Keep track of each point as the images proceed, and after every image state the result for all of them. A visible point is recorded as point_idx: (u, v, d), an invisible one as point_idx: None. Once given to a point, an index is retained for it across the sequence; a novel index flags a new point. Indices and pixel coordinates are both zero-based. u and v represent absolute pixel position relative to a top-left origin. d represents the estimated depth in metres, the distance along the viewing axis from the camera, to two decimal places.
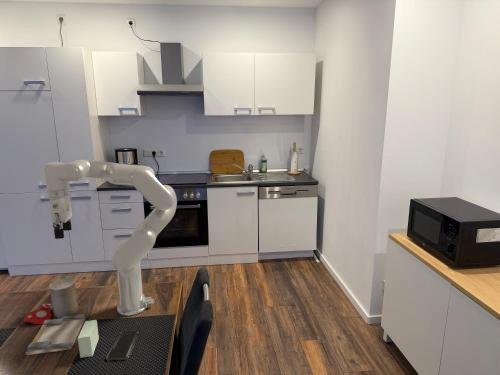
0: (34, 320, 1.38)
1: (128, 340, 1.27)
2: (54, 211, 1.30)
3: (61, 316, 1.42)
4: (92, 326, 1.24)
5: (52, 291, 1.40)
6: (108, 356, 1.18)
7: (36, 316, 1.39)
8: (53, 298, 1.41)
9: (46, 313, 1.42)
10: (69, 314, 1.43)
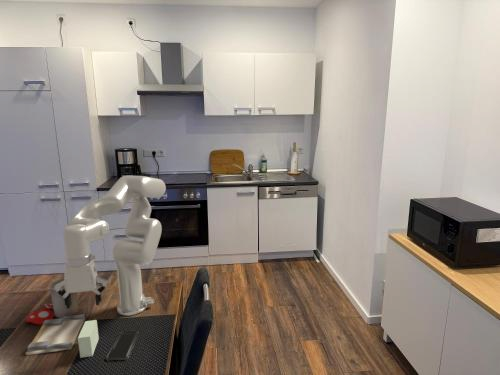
0: (36, 320, 1.37)
1: (128, 340, 1.27)
2: (95, 275, 1.18)
3: (61, 316, 1.42)
4: (92, 326, 1.24)
5: (52, 291, 1.40)
6: (108, 356, 1.18)
7: (38, 316, 1.39)
8: (53, 298, 1.41)
9: (48, 313, 1.42)
10: (69, 314, 1.43)
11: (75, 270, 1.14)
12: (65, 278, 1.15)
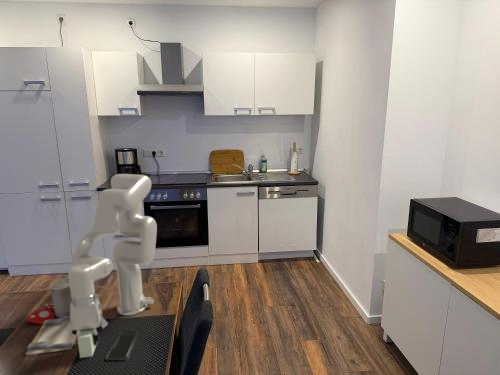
0: (37, 320, 1.38)
1: (128, 340, 1.27)
2: (100, 312, 1.22)
3: (62, 316, 1.42)
4: None
5: (53, 291, 1.40)
6: (108, 356, 1.19)
7: (39, 316, 1.39)
8: (54, 298, 1.41)
9: (49, 313, 1.42)
10: None
11: (80, 309, 1.18)
12: (71, 317, 1.18)
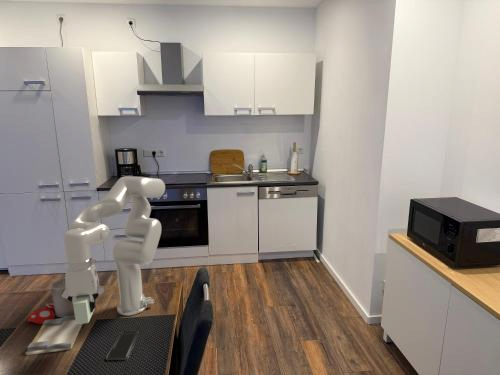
0: (37, 320, 1.38)
1: (128, 340, 1.27)
2: (96, 279, 1.19)
3: (62, 316, 1.42)
4: None
5: (53, 291, 1.40)
6: (108, 356, 1.19)
7: (39, 316, 1.39)
8: (54, 298, 1.41)
9: (49, 313, 1.42)
10: (70, 314, 1.43)
11: (76, 274, 1.15)
12: (66, 282, 1.15)
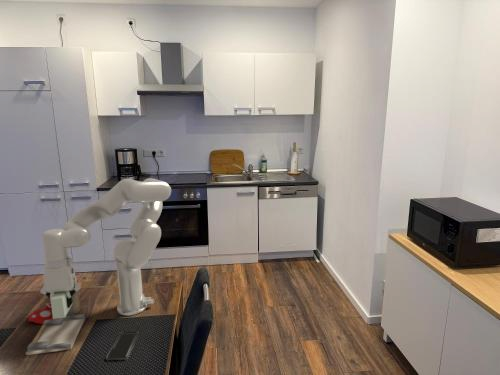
0: (38, 320, 1.38)
1: (128, 340, 1.27)
2: (73, 276, 1.27)
3: None
4: None
5: None
6: (108, 356, 1.19)
7: (40, 316, 1.39)
8: None
9: (50, 313, 1.42)
10: (71, 314, 1.43)
11: (53, 271, 1.23)
12: (44, 279, 1.23)
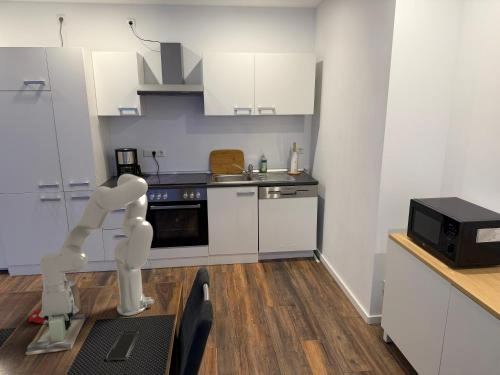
0: (39, 320, 1.38)
1: (128, 340, 1.27)
2: (71, 299, 1.28)
3: None
4: None
5: None
6: (108, 356, 1.19)
7: None
8: None
9: None
10: None
11: (51, 295, 1.25)
12: (42, 303, 1.25)
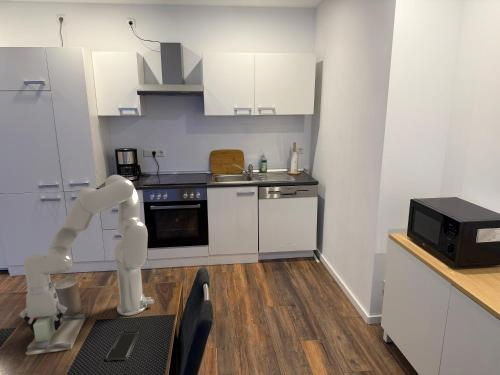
0: None
1: (128, 340, 1.27)
2: (56, 301, 1.27)
3: (64, 315, 1.42)
4: None
5: None
6: (108, 356, 1.19)
7: None
8: None
9: None
10: (72, 313, 1.44)
11: (36, 297, 1.24)
12: (27, 305, 1.24)
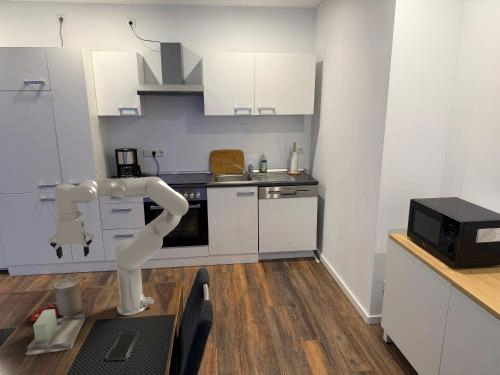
0: None
1: (128, 340, 1.27)
2: (83, 229, 1.34)
3: (65, 315, 1.43)
4: (49, 315, 1.29)
5: (56, 290, 1.41)
6: (108, 356, 1.19)
7: None
8: (57, 297, 1.41)
9: None
10: (73, 313, 1.44)
11: (65, 224, 1.30)
12: (56, 231, 1.30)
